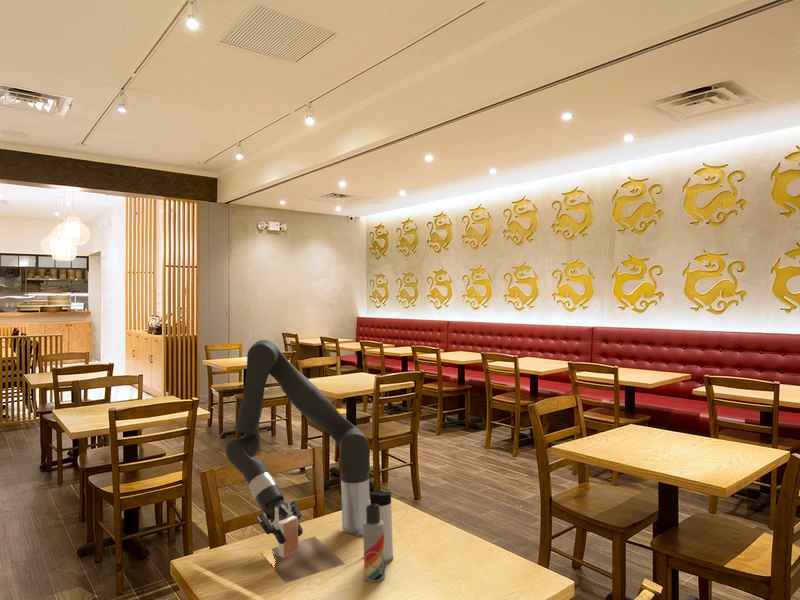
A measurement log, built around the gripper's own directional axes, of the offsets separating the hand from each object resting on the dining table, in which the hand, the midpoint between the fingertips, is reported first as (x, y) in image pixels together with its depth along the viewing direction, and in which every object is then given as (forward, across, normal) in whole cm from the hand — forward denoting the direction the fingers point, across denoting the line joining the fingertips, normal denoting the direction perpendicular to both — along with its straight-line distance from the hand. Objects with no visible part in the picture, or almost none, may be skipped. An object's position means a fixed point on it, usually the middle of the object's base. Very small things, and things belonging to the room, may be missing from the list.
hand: (292, 538), depth 161 cm
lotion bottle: (+24, +5, -15) cm, 29 cm away
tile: (+2, 0, +5) cm, 5 cm away
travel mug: (+20, +14, -12) cm, 28 cm away
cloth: (+7, 0, +2) cm, 7 cm away
